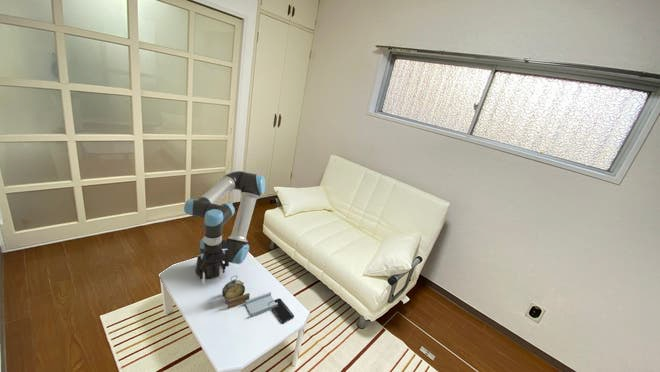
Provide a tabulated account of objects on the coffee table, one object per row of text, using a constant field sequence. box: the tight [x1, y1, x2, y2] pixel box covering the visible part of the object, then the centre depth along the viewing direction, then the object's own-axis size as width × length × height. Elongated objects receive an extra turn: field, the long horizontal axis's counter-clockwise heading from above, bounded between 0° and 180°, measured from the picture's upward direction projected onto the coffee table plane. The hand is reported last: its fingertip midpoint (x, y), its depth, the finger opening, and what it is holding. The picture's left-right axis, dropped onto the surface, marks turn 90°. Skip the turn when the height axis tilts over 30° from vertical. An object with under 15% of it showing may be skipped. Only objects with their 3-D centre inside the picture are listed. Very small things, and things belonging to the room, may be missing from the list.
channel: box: [221, 281, 251, 310], centre depth 144 cm, size 10×11×5 cm
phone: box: [268, 297, 295, 324], centre depth 142 cm, size 8×1×15 cm
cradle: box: [244, 291, 278, 318], centre depth 143 cm, size 10×14×2 cm, turn 128°
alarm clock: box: [221, 275, 246, 304], centre depth 141 cm, size 11×5×16 cm, turn 129°
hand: (212, 280), depth 131 cm, fingers open, 8 cm apart
